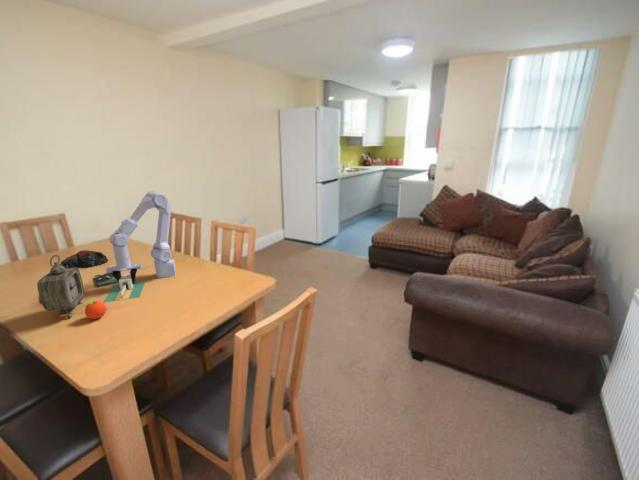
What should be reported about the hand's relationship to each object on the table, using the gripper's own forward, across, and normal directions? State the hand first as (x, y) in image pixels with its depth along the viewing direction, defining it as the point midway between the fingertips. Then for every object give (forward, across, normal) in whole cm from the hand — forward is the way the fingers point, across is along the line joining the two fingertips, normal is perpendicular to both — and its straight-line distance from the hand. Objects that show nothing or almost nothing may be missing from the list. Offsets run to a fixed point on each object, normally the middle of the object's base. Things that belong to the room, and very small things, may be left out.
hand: (127, 284), depth 149 cm
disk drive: (+3, -11, +12) cm, 17 cm away
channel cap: (+1, 0, 0) cm, 1 cm away
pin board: (+2, 0, -5) cm, 5 cm away
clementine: (+2, -7, -26) cm, 27 cm away
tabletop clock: (+2, -19, -17) cm, 26 cm away
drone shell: (+3, -30, +46) cm, 55 cm away
